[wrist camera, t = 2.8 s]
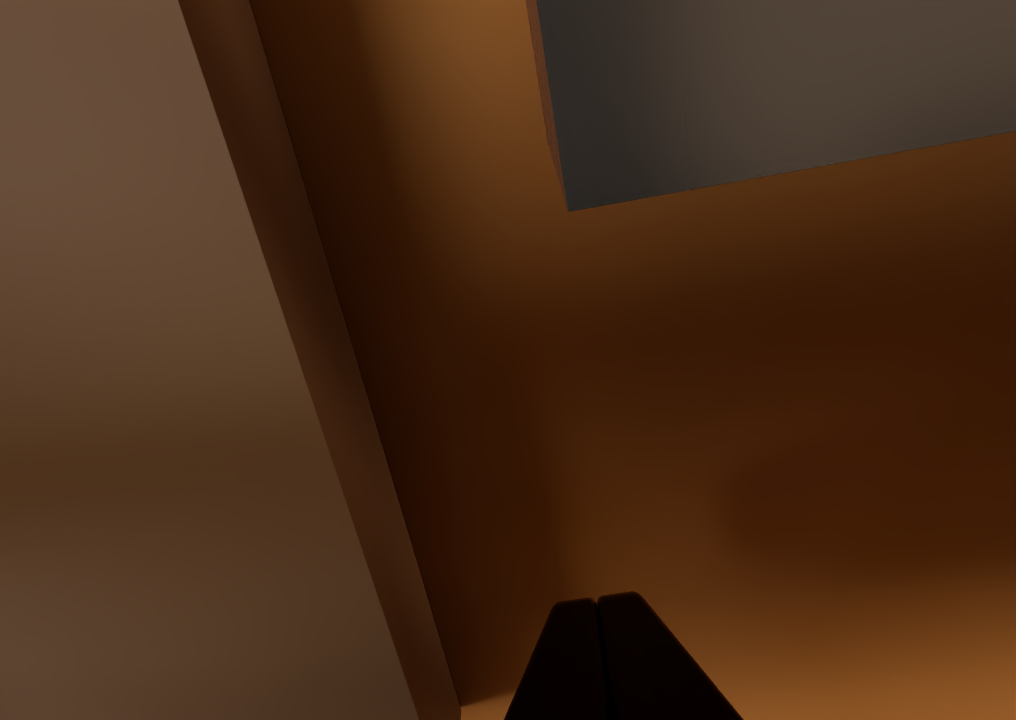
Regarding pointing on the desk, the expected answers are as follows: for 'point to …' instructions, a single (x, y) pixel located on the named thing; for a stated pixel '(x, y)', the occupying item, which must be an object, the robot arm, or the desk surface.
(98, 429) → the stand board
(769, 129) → the capstan
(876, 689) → the desk surface
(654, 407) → the desk surface
